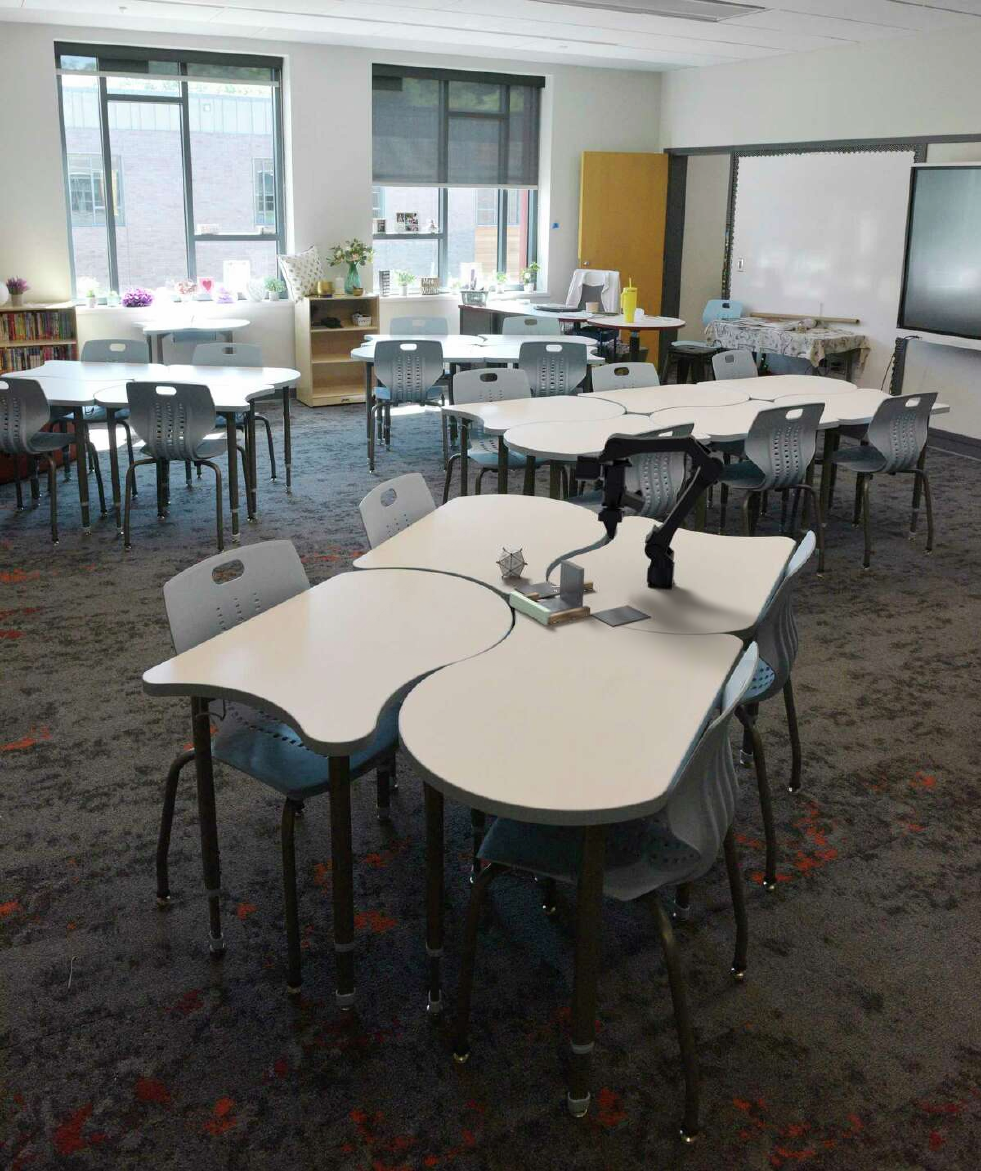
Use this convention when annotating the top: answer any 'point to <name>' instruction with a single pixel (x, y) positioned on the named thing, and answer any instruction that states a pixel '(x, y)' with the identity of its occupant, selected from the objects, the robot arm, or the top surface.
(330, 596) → the top surface
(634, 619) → the trap lane
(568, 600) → the bookend
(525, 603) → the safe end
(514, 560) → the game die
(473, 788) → the top surface
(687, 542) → the top surface
